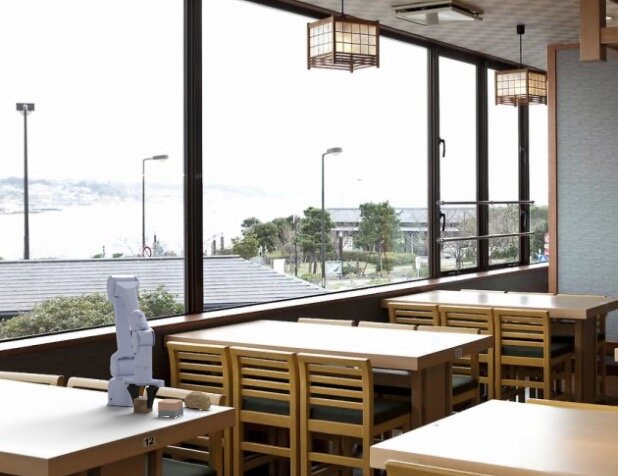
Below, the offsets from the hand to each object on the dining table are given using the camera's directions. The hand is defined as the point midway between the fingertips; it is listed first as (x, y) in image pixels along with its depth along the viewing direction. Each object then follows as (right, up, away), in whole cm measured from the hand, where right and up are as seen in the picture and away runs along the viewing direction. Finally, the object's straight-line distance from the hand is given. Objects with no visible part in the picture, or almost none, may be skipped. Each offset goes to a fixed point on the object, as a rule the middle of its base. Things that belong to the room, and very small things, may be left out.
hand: (143, 407), depth 312 cm
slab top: (+10, +1, -5) cm, 11 cm away
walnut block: (0, -1, 0) cm, 1 cm away
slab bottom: (+10, -2, -5) cm, 11 cm away
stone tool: (+17, -2, +7) cm, 19 cm away
